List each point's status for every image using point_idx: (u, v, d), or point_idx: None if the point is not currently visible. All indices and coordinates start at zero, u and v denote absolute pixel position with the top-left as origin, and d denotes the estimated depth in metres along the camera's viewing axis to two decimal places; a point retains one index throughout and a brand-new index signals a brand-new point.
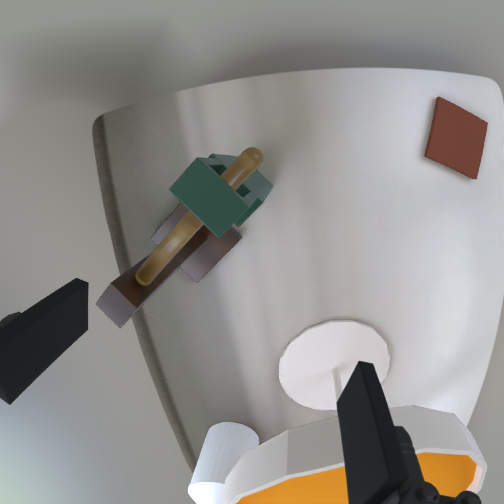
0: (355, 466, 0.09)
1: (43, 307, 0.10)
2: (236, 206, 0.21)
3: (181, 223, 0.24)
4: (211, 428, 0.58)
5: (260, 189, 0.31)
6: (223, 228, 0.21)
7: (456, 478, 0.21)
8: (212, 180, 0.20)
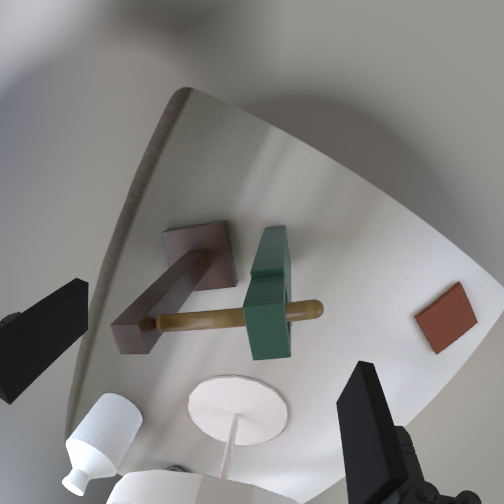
0: (355, 466, 0.09)
1: (43, 307, 0.10)
2: (282, 351, 0.23)
3: (226, 316, 0.26)
4: (108, 395, 0.59)
5: (290, 295, 0.34)
6: (262, 357, 0.24)
7: None
8: (280, 325, 0.23)
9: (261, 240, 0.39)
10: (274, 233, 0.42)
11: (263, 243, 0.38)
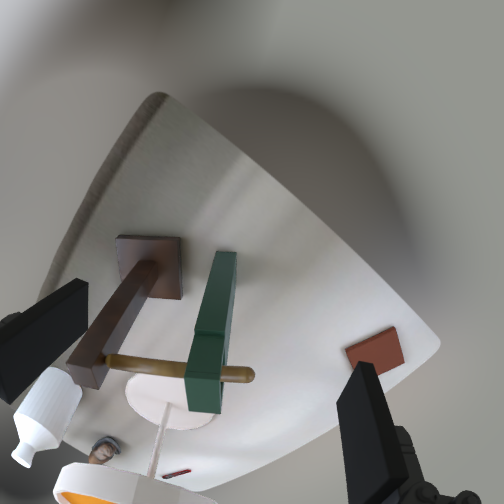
0: (355, 466, 0.09)
1: (43, 307, 0.10)
2: (214, 409, 0.26)
3: (168, 370, 0.27)
4: (52, 369, 0.58)
5: None
6: (196, 410, 0.26)
7: None
8: (214, 394, 0.25)
9: (210, 274, 0.40)
10: (224, 264, 0.43)
11: (211, 281, 0.39)
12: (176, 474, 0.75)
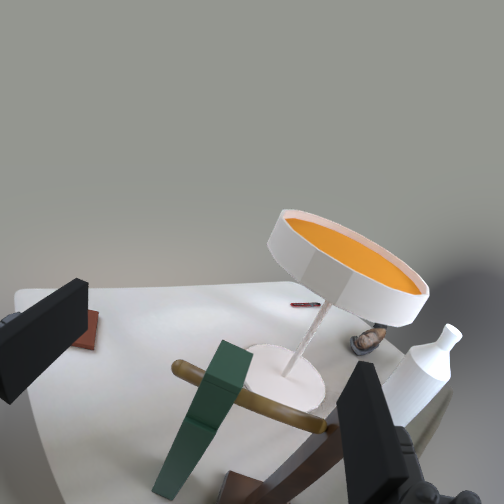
0: (355, 466, 0.09)
1: (43, 307, 0.10)
2: (226, 346, 0.26)
3: (258, 402, 0.25)
4: None
5: None
6: (245, 351, 0.26)
7: (298, 224, 0.57)
8: (217, 360, 0.24)
9: (184, 481, 0.28)
10: (167, 484, 0.29)
11: (184, 475, 0.27)
12: (306, 304, 0.98)
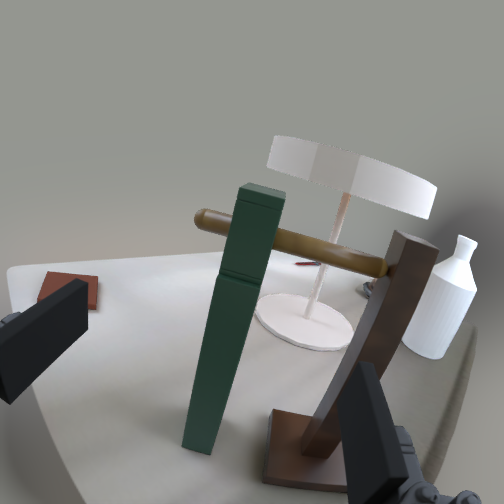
0: (355, 466, 0.09)
1: (43, 307, 0.10)
2: (254, 184, 0.24)
3: (303, 238, 0.22)
4: (434, 355, 0.55)
5: None
6: None
7: None
8: (249, 186, 0.22)
9: (223, 408, 0.24)
10: (201, 424, 0.25)
11: (223, 393, 0.24)
12: (310, 263, 0.96)
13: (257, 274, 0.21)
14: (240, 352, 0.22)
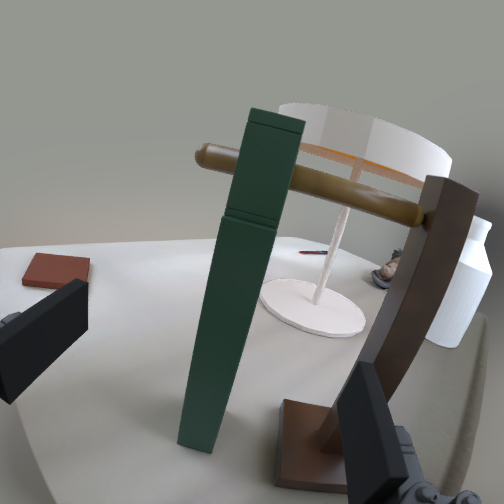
0: (355, 466, 0.09)
1: (43, 307, 0.10)
2: None
3: (327, 176, 0.18)
4: (450, 343, 0.50)
5: None
6: None
7: None
8: None
9: (228, 394, 0.20)
10: (200, 415, 0.21)
11: (228, 374, 0.19)
12: (315, 252, 0.92)
13: (272, 214, 0.17)
14: (250, 318, 0.18)
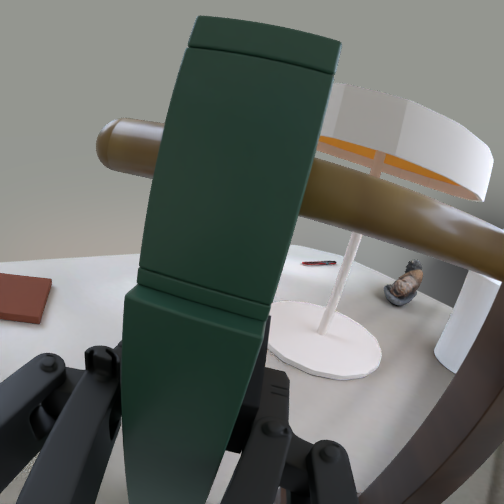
0: None
1: None
2: None
3: (383, 185, 0.07)
4: None
5: None
6: None
7: None
8: None
9: None
10: None
11: None
12: (319, 262, 0.81)
13: (254, 288, 0.06)
14: (213, 473, 0.08)
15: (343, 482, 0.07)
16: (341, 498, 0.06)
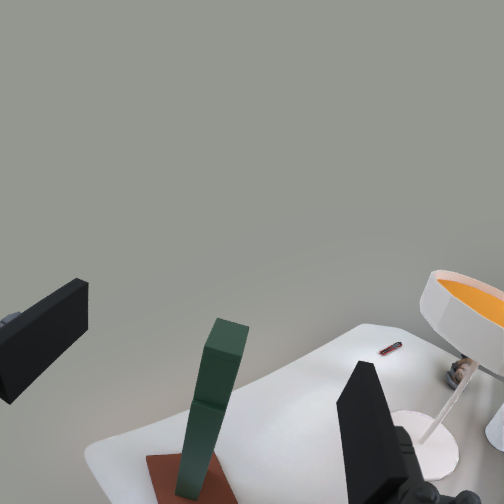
0: (355, 466, 0.09)
1: (43, 307, 0.10)
2: (221, 322, 0.27)
3: None
4: None
5: None
6: (240, 325, 0.28)
7: None
8: (214, 335, 0.25)
9: (204, 475, 0.28)
10: (188, 483, 0.29)
11: (203, 467, 0.27)
12: (391, 348, 0.82)
13: (223, 401, 0.25)
14: (213, 446, 0.26)
15: None
16: None
